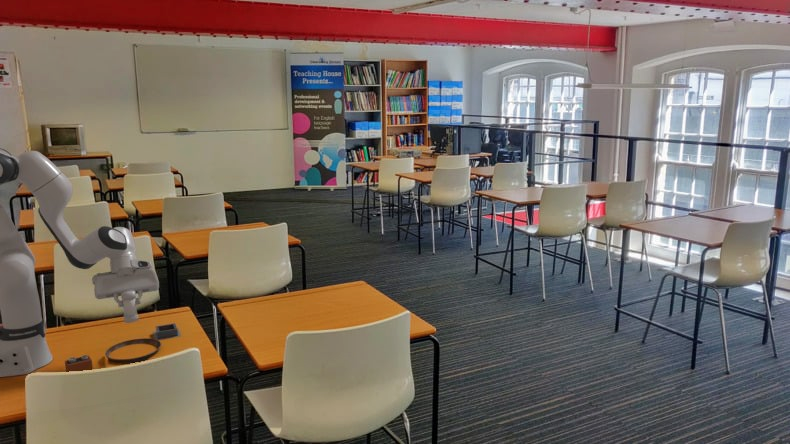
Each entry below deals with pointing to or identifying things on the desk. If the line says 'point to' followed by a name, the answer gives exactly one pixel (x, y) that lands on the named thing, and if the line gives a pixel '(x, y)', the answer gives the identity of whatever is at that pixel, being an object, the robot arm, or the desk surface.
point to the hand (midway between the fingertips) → (129, 305)
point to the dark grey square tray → (166, 332)
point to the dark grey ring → (130, 342)
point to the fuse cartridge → (129, 306)
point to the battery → (79, 364)
